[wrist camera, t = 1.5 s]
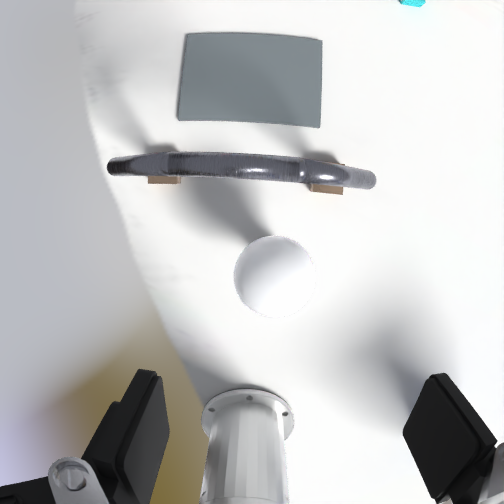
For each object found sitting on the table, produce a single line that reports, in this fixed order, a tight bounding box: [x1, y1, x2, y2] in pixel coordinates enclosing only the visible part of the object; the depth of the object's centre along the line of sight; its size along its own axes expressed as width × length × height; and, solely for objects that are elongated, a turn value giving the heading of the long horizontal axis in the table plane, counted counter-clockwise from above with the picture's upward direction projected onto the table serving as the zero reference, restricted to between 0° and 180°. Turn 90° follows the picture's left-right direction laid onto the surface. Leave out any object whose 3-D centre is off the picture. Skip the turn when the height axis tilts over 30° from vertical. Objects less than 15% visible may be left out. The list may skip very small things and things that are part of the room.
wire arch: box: [107, 152, 376, 195], centre depth 21 cm, size 3×19×17 cm, turn 86°
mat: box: [178, 33, 322, 128], centre depth 27 cm, size 10×14×1 cm
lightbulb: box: [234, 236, 316, 317], centre depth 26 cm, size 6×6×11 cm
